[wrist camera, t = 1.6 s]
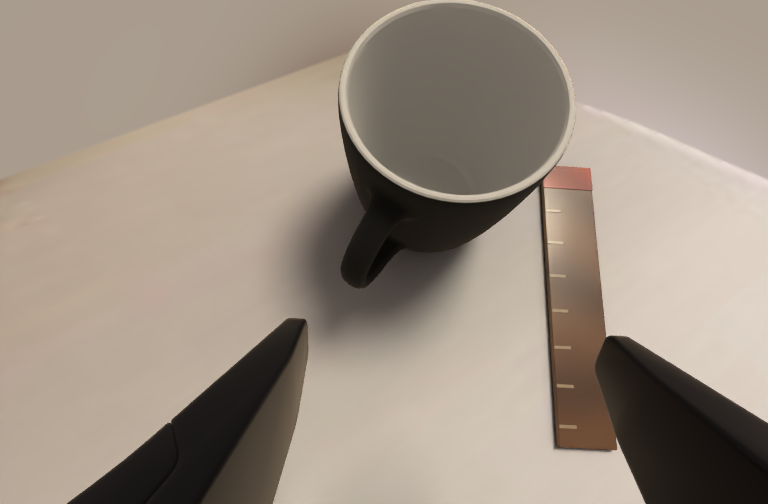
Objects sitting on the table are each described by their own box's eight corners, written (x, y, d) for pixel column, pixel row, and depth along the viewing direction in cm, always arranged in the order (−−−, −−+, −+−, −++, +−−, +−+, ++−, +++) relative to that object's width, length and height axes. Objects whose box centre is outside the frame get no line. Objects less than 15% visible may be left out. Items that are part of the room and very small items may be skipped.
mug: (401, 111, 27) (420, -38, 17) (522, 183, 25) (617, 66, 16) (289, 259, 24) (232, 181, 14) (420, 347, 22) (459, 330, 13)
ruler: (613, 448, 21) (618, 450, 21) (556, 446, 21) (559, 447, 21) (586, 171, 26) (590, 168, 25) (539, 168, 26) (542, 165, 25)
